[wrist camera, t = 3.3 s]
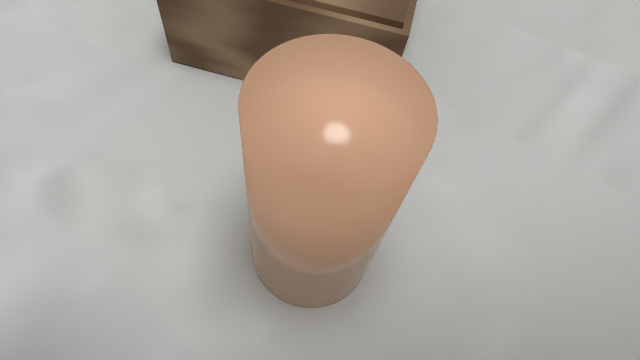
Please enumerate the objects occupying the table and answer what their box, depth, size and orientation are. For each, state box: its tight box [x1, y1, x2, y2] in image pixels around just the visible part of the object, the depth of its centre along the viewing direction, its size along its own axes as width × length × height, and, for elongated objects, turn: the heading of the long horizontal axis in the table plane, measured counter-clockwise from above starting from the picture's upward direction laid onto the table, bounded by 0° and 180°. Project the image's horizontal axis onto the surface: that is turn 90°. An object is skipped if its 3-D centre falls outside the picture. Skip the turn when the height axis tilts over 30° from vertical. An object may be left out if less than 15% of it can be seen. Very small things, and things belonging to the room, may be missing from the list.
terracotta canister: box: [238, 34, 438, 308], centre depth 19 cm, size 6×6×12 cm
